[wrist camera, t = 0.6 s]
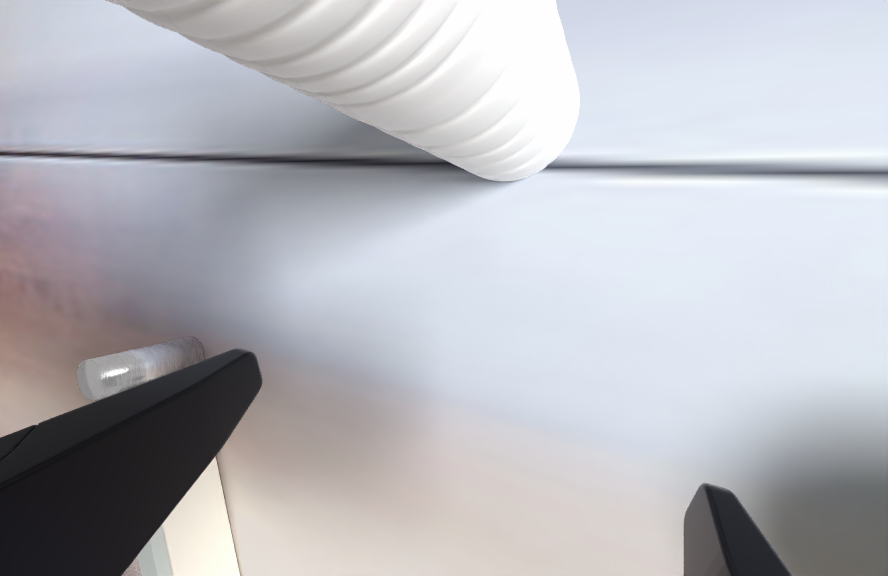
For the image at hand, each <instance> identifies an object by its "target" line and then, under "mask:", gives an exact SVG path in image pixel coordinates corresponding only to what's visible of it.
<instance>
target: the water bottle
mask: <svg viewBox="0 0 888 576" xmlns="http://www.w3.org/2000/svg"><path fill="white" fill-rule="evenodd" d="M106 1H109V2H112V3H115V4H118V5H122V6H123V7H125V8H126V9H128V10H129V11H131V12H133V13H134V14H136V15H138V16H140V17H141V18H143V19H145V20H147V21H149V22H152V23H154V24H156V25H158V26H161V27H163V28H166V29H169V30H171V31H174V32H178V33H179V34H181V35H182V36H184V37H186V38H187V39H189V40H191V41H193V42H195V43H197V44H199V45H201V46H203V47H205V48H208V49H210V50H213V51H215V52H218V53H221V54H223V55H225V56H226V57H228V58H230V59H232V60H233V61H235V62H237V63H239V64H241V65H244V66H246V67H248V68H251V69H254V70H256V71H259V72H260V73H262V74H264V75H266V76H268V77H269V78H271V79H274V80H276V81H278V82H280V83H283V84H286V85H288V86H290V87H292V88H294V89H295V90H297V91H299V92H301V93H304V94H306V95H308V96H311V97H314V98H316V99H318V100H319V101H321V102H323V103H325V104H327V105H329V106H331V107H332V108H334V109H336V110H338V111H339V112H341V113H343V114H345V115H347V116H349V117H352V118H354V119H356V120H358V121H361V122H363V123H366V124H369V125H372V126H374V127H375V128H377V129H379V130H381V131H383V132H385V133H387V134H389V135H391V136H393V137H396V138H398V139H401V140H404V141H405V142H407V143H409V144H411V145H413V146H415V147H417V148H420V149H422V150H425V151H426V152H428V153H430V154H432V155H434V156H436V157H439V158H441V159H444V160H446V161H448V162H450V163H452V164H454V165H456V166H458V167H461V168H463V169H465V170H466V171H468V172H470V173H473V174H475V175H477V176H479V177H482V178H485V179H488V180H493V181H515V180H520V179H523V178H526V177H529V176H531V175H534V174H536V173H538V172H539V171H541V170H542V169H544V168H545V167H546V166H547V165H548V164H549V163H551V162H552V161H554V160H555V159H556V158H557V157H558V156H559V154H560V153H561V152H562V151H563V149H564V148H565V146H566V145H567V143H568V142H569V140H570V138H571V136H572V134H573V131H574V128H575V124H576V122H577V118H578V113H579V89H578V83H577V79H576V75H575V72H574V68H573V65H572V63H571V58H570V54H569V51H568V47H567V44H566V42H565V37H564V32H563V28H562V24H561V21H560V18H559V15H558V12H557V6H556V2H555V0H106Z"/></svg>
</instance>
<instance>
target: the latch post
mask: <svg viewBox="0 0 888 576" xmlns="http://www.w3.org/2000/svg"><path fill="white" fill-rule="evenodd" d="M201 361H204V350H203V347H202V345H201V343H200V342H199V341H198V340H197V339H196V338H194V337H186V338H182V339H177V340H173V341H168V342H164V343H159V344H155V345H150V346H146V347H141V348H137V349H132V350H128V351H123V352H119V353H114V354H110V355H105V356H101V357H96V358H92V359H87V360H83V361H82V362H81V363H80V364H79V365H78V368H77V382H78V386H79V388H80V391H81V392H82V394H83V395H84V396H85V397H86V398H87V399H89V400H92V401H94V400H98V399H101V398H104V397H108V396H111V395H114V394H117V393H120V392H122V391H125V390H128V389H130V388H133V387H136V386H138V385H141V384H143V383H146V382H149V381H151V380H154V379H157V378H159V377H162V376H165V375H167V374H170V373H172V372H175V371H178V370H180V369H183V368H186V367H188V366H191V365H194V364H196V363H199V362H201Z"/></svg>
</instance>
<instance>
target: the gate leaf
mask: <svg viewBox="0 0 888 576" xmlns="http://www.w3.org/2000/svg"><path fill="white" fill-rule="evenodd" d="M137 559H138V563H139V568H140V573H141V576H240V572H239V567H238V563H237V558H236V553H235V548H234V543H233V538H232V534H231V529H230V524H229V519H228V514H227V509H226V505H225V500H224V495H223V490H222V485H221V480H220V475H219V471H218V466H217V461H216V456H215V458H214V459H213V460H212V462H211V463H210V464H209V465H208V467H207V468H206V469H205V470H204V472H203V473H202V474H201V476H200V477H199V478H198V479H197V481H196V482H195V483H194V484H193V486H192V487H191V488H190V489H189V491H188V492H187V493H186V495H185V496H184V497H183V498H182V500H181V501H180V502H179V503H178V505H177V506H176V507H175V509H174V510H173V511H172V512H171V514H170V515H169V516H168V517H167V519H166V520H165V521H164V522H163V524H162V525H161V526H160V528H159V529H158V530H157V531H156V533H155V534H154V535H153V536H152V538H151V539H150V540H149V542H148V543H147V544H146V545H145V547H144V548H143V549H142V550H141V552H140V553H139V554H138V555H137Z"/></svg>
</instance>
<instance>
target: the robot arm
mask: <svg viewBox="0 0 888 576" xmlns="http://www.w3.org/2000/svg"><path fill="white" fill-rule="evenodd" d="M261 386H262V376H261V372H260V369H259V365H258V361H257V358H256V355H255V354H254V353H252V352H250V351H246V350H243V349H233V350H230V351H228V352H225V353H223V354H220V355H217V356H215V357H212V358H209V359H207V360H204V361H201V362H199V363H196V364H194V365H191V366H188V367H186V368H183V369H180V370H178V371H175V372H172V373H170V374H167V375H165V376H162V377H159V378H157V379H154V380H151V381H149V382H146V383H143V384H141V385H138V386H136V387H133V388H130V389H128V390H125V391H122V392H120V393H117V394H114V395H112V396H109V397H107V398H104V399H101V400H99V401H96V402H93V403H91V404H88V405H85V406H83V407H80V408H78V409H75V410H72V411H70V412H67V413H64V414H62V415H59V416H56V417H54V418H51V419H49V420H46V421H43V422H41V423H39V424H38V425H32V426H30V427H27V428H25V429H22V430H19V431H17V432H14V433H12V434H9V435H6V436H4V437H1V438H0V576H122V575H123V573H124V572H125V571H126V569H127V568H128V567H129V566H130V564H131V563H132V562H133V561H134V559H135V558H136V557H137V555H138V554H139V553H140V552H141V550H142V549H143V548H144V547H145V545H146V544H147V543H148V542H149V540H150V539H151V538H152V536H153V535H154V534H155V533H156V531H157V530H158V529H159V528H160V526H161V525H162V524H163V522H164V521H165V520H166V519H167V517H168V516H169V515H170V514H171V512H172V511H173V510H174V509H175V507H176V506H177V505H178V503H179V502H180V501H181V500H182V498H183V497H184V496H185V495H186V493H187V492H188V491H189V489H190V488H191V487H192V486H193V484H194V483H195V482H196V481H197V479H198V478H199V477H200V476H201V474H202V473H203V472H204V470H205V469H206V468H207V467H208V465H209V464H210V463H211V462H212V460H213V459H214V458H215V456H216V455H217V454H218V452H219V451H220V450H221V448H222V447H223V445H224V444H225V443H226V441H227V440H228V438H229V437H230V435H231V434H232V432H233V430H234V429H235V427H236V426H237V424H238V423H239V421H240V420H241V418H242V417H243V415H244V414H245V412H246V411H247V409H248V407H249V406H250V404H251V403H252V401H253V400H254V398H255V397H256V395H257V394H258V392H259V390H260V388H261ZM684 576H792V575H791V573H790V572H789V571H788V569H787V568H786V566H785V565H784V563H783V562H782V561H781V559H780V558H779V556H778V555H777V554H776V552H775V551H774V549H773V548H772V547H771V545H770V544H769V542H768V541H767V540H766V538H765V537H764V535H763V534H762V532H761V531H760V530H759V528H758V527H757V525H756V524H755V523H754V521H753V520H752V518H751V517H750V516H749V514H748V513H747V511H746V510H745V509H744V507H743V506H742V504H741V503H740V501H739V500H738V499H737V497H736V496H735V495H734V494H733V493H732V492H731V491H730V490H728V489H725V488H722V487H718V486H715V485H711V484H708V483H704V484H702V485H700V487H699V488H698V490H697V492H696V494H695V496H694V497H693V499H692V501H691V503H690V505H689V507H688V509H687V511H686V514H685V518H684Z"/></svg>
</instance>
